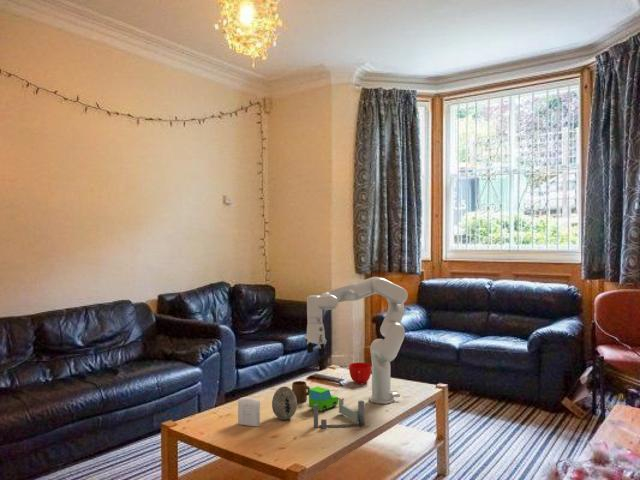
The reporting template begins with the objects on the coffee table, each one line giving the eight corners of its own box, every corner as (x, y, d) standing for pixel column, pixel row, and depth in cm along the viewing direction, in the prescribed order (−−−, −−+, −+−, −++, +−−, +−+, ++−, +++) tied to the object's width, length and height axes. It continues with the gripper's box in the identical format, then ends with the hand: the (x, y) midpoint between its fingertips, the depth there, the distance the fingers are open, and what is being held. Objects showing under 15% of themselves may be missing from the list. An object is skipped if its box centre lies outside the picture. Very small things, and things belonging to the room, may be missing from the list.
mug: (315, 403, 255) (315, 384, 255) (304, 406, 250) (304, 388, 250) (300, 397, 264) (299, 380, 264) (289, 401, 259) (289, 383, 258)
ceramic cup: (347, 387, 280) (347, 369, 280) (350, 378, 297) (350, 362, 297) (370, 388, 278) (370, 370, 278) (372, 379, 295) (372, 362, 295)
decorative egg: (276, 425, 226) (275, 392, 226) (269, 416, 237) (268, 385, 237) (300, 421, 230) (300, 388, 230) (292, 412, 241) (292, 382, 241)
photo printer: (261, 423, 228) (261, 396, 228) (257, 427, 224) (257, 399, 224) (241, 421, 231) (240, 395, 231) (236, 425, 227) (236, 398, 227)
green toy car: (340, 406, 249) (340, 386, 249) (322, 413, 240) (322, 393, 240) (325, 402, 256) (325, 382, 256) (307, 409, 247) (307, 388, 247)
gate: (360, 421, 226) (360, 406, 226) (356, 422, 225) (356, 407, 225) (342, 411, 240) (341, 397, 240) (338, 412, 239) (338, 397, 239)
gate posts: (364, 424, 225) (363, 400, 225) (365, 428, 221) (365, 403, 221) (313, 425, 224) (313, 401, 224) (313, 429, 220) (313, 404, 220)
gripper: (331, 321, 243) (332, 356, 243) (311, 317, 257) (312, 350, 257) (318, 323, 239) (319, 358, 239) (299, 318, 253) (299, 352, 253)
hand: (315, 354), depth 248 cm, fingers open, 9 cm apart
